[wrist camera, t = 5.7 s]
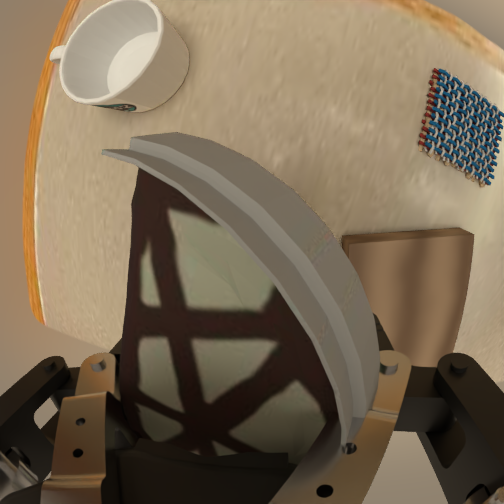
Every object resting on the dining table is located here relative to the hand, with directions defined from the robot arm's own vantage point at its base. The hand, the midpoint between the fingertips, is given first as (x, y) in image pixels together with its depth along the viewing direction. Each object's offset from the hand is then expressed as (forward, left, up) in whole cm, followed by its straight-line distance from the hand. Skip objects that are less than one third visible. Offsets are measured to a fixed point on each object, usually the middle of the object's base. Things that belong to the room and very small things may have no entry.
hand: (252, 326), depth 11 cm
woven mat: (-22, -10, -18) cm, 30 cm away
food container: (-2, +1, -3) cm, 4 cm away
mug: (+12, -19, -17) cm, 28 cm away
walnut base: (-14, +9, -17) cm, 24 cm away
